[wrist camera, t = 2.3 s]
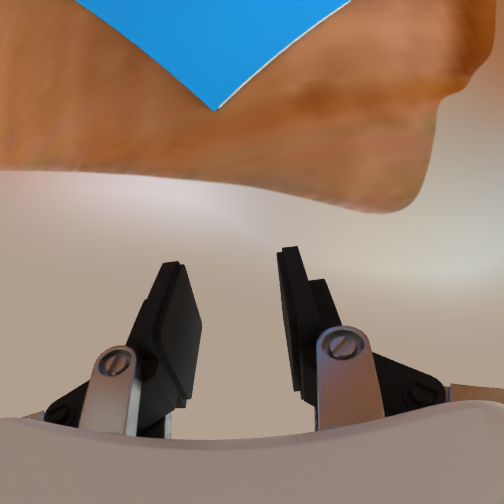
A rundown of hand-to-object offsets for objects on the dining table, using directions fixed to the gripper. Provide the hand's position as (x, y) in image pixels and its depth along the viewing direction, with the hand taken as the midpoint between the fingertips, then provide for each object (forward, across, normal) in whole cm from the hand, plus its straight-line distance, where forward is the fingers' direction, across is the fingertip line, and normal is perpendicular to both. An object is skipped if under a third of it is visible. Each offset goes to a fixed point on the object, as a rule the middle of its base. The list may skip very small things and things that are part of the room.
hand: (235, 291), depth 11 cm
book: (+19, +2, -21) cm, 29 cm away
